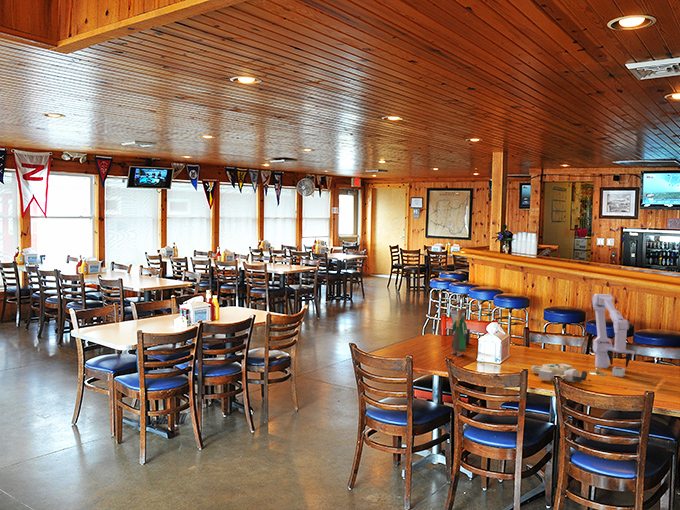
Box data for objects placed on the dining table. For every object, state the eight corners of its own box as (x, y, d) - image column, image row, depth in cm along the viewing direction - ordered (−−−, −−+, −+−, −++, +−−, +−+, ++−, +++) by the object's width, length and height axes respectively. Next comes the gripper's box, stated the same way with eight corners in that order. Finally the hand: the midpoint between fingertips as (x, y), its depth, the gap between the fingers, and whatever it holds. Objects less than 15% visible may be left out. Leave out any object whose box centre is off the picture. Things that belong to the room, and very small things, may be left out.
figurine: (446, 352, 376) (448, 306, 374) (455, 351, 380) (457, 305, 378) (462, 358, 362) (464, 310, 360) (471, 357, 365) (473, 309, 363)
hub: (590, 372, 335) (591, 365, 334) (607, 375, 329) (608, 368, 329) (586, 375, 328) (587, 368, 327) (604, 378, 322) (604, 371, 322)
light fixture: (446, 346, 395) (448, 310, 393) (454, 341, 410) (455, 307, 409) (462, 348, 390) (463, 312, 388) (469, 343, 405) (471, 308, 404)
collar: (614, 373, 329) (614, 366, 329) (624, 375, 326) (625, 368, 326) (612, 375, 325) (612, 368, 325) (622, 377, 322) (623, 370, 322)
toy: (578, 374, 301) (522, 363, 320) (577, 389, 302) (521, 378, 321) (593, 364, 321) (539, 355, 340) (592, 379, 321) (538, 369, 340)
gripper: (604, 340, 325) (603, 364, 326) (633, 344, 317) (631, 369, 318) (607, 338, 331) (606, 362, 332) (635, 342, 322) (634, 366, 323)
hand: (618, 365), depth 325 cm, fingers open, 7 cm apart
